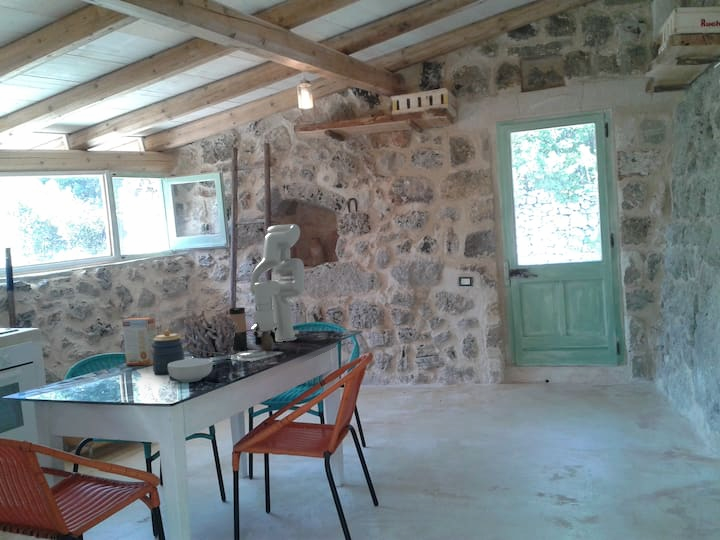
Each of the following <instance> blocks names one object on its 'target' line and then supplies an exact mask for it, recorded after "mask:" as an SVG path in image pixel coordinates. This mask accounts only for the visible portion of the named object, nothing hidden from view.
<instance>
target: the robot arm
mask: <svg viewBox="0 0 720 540" xmlns="http://www.w3.org/2000/svg"><path fill="white" fill-rule="evenodd" d="M300 236H301V228H300V227H299V225H298V224H295V223H292V224H291V223H289V224H276V225H271V226H269V227H268V228H267V231H266V235H265V237H264V243H263V244H264V245H263V252H262V259H261V261H260V263H258V265H256V267H255V268H254V270H253V272H252V273H251V276H250V277H251V278H250V293H251V295H252V296H254V303H255V311H254V314H253V326H252V327H251V328H250V330H251V333H252V335H253V337H254V339H255V345H256V346H259V345H261V344H262V343H261V337H260V336H261V335H262V333H263V332H266V331H268V333H269V334H270V335H271V336H272V338H273V343H275V341H276V342H277V343H283V341H286V342H291V341H292V342H293V341H295V340H297V338H298V337H297V336H295V335H299V333H300V331H299V330H298V329H297V330H296V329H295V330H294V327H293V326H294V325H293V324H294V323H293V313H292V304H291V302H290V301H289V300H288V299H287V298H299V297H301V296H302V295H303V294H304V287H305V264H304V261H303V260H302V259H300V258H297V257H295V258H291V248H292V247H293V246H294V245H296V243H297V241H298V240H299V238H300ZM272 269H273V274H274V276H275V277H276V278H277V277H278V278H279V279H275V280H274V279H273V280H260V278H261V277H262V275H263V274H264V273H266V272H267V271H269V270H272Z"/></svg>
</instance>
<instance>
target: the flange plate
mask: <svg viewBox="0 0 720 540" xmlns="http://www.w3.org/2000/svg"><path fill="white" fill-rule="evenodd" d="M282 353H283V354H284V351H273V350H262V349H249V350H241V351H240V352H237V353H236V354H235V353H234V354H232V355H231V358H230V359H231V360H230V361H234V360H237V361H236V362H246V361H250V363H253V361H254V362H258V361H260V360H265V359H268V358H272V357H275V355H276V356H279V355H282ZM257 360H258V361H257Z"/></svg>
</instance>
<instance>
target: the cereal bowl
mask: <svg viewBox="0 0 720 540" xmlns="http://www.w3.org/2000/svg"><path fill="white" fill-rule="evenodd" d="M213 367H214V366H213V360H212V359H210V358H187V359H185V360H179V361H174V362H171V363H169V364H168V372H169V374H168V375H169V376H170V377H172V378H173V379H174V380H177V381H179V382H180V383H196V382H198V381H202V379H203V378H205V377H208V375H210V374H211V372H212V370H213Z"/></svg>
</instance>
